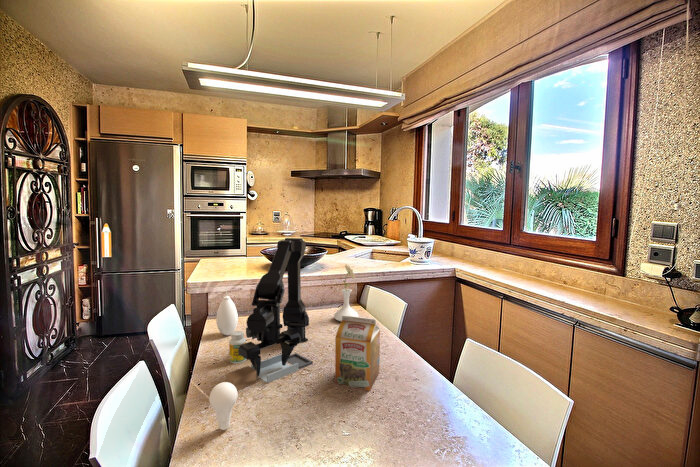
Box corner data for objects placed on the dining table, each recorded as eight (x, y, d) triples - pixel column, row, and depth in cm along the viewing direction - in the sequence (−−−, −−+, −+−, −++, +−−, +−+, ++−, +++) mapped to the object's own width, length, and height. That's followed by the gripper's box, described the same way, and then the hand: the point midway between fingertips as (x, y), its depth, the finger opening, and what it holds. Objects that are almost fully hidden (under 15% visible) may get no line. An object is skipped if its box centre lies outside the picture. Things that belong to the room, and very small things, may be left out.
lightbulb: (214, 421, 82) (213, 377, 81) (240, 420, 82) (240, 376, 81) (206, 438, 76) (205, 391, 75) (234, 437, 76) (233, 390, 75)
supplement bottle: (243, 355, 117) (243, 328, 116) (248, 361, 113) (248, 333, 112) (227, 359, 114) (227, 331, 113) (231, 366, 110) (231, 337, 109)
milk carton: (379, 373, 106) (380, 313, 104) (370, 390, 96) (371, 325, 94) (347, 367, 109) (347, 310, 108) (335, 384, 100) (335, 320, 98)
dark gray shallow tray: (296, 355, 118) (296, 352, 118) (312, 364, 111) (312, 361, 111) (283, 360, 114) (283, 357, 114) (300, 369, 108) (300, 366, 108)
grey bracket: (281, 361, 114) (280, 353, 113) (298, 371, 107) (298, 363, 107) (251, 372, 106) (251, 364, 106) (267, 384, 99) (267, 375, 99)
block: (248, 378, 103) (248, 365, 102) (256, 384, 99) (256, 370, 99) (226, 387, 98) (226, 373, 97) (233, 393, 94) (233, 379, 94)
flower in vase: (358, 324, 149) (359, 267, 147) (332, 324, 149) (333, 267, 147) (358, 314, 162) (359, 262, 160) (334, 314, 162) (334, 262, 160)
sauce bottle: (242, 332, 138) (241, 289, 136) (227, 339, 131) (226, 293, 129) (227, 329, 141) (226, 287, 140) (212, 336, 134) (211, 291, 133)
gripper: (281, 308, 116) (281, 352, 118) (228, 321, 103) (230, 371, 104) (301, 316, 108) (301, 363, 110) (247, 331, 95) (248, 385, 96)
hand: (271, 370), depth 105 cm, fingers open, 9 cm apart
